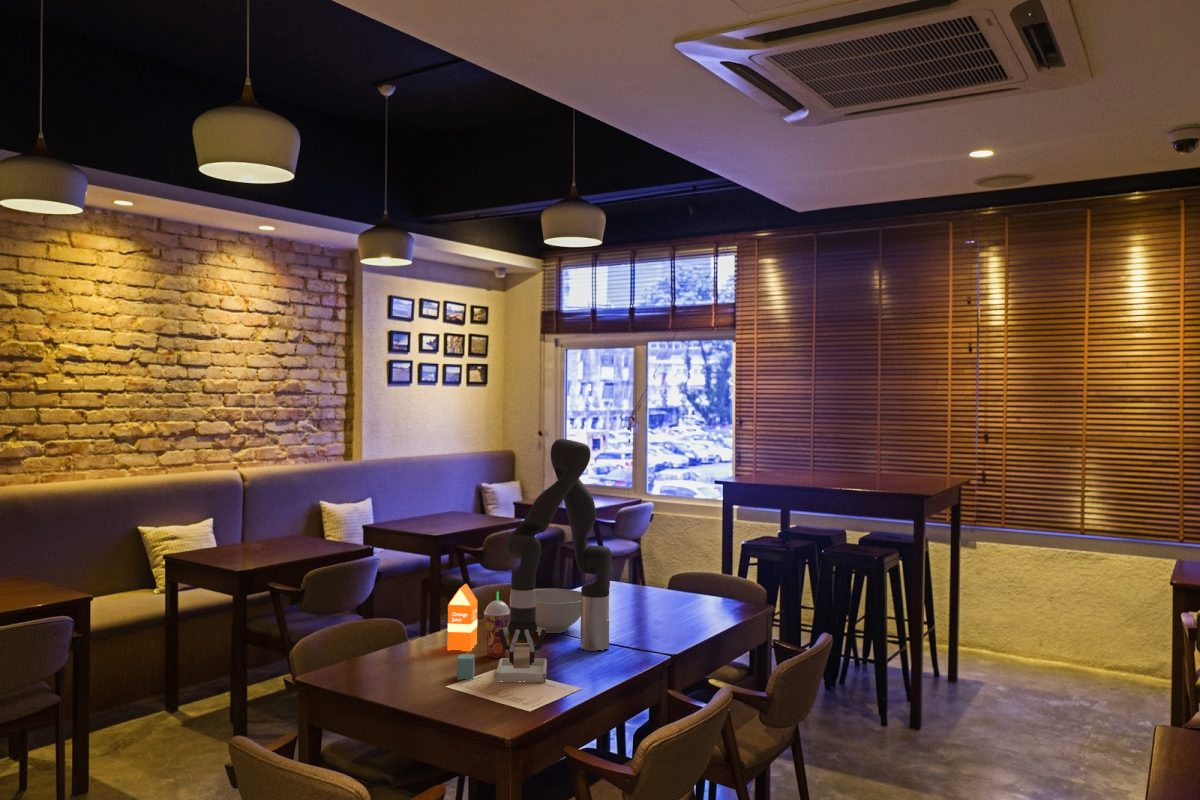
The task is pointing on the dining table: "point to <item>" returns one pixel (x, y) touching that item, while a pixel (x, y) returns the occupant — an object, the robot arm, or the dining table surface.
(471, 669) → the teal block
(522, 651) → the beech block
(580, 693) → the dining table surface
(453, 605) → the orange juice
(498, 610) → the smoothie
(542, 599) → the decorative bowl
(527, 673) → the tray
